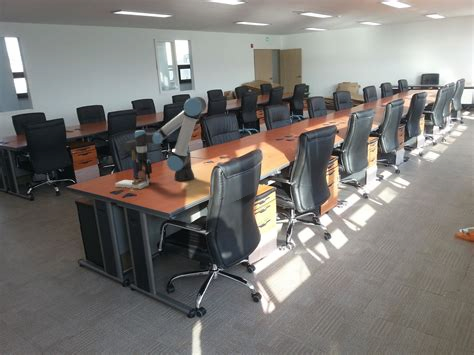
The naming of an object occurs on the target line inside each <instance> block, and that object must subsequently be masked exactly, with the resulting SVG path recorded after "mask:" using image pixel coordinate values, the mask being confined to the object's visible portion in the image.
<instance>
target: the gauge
mask: <svg viewBox="0 0 474 355" xmlns="http://www.w3.org/2000/svg"><path fill="white" fill-rule="evenodd" d="M146 174H147V173H146V170H145V168H142V170H140V171H139V174H138V176H139V177H138V178H136V179H135V178H133V182H132V184H133V185H135V184H138V183H140V182H142V181H145V182H147V179H146ZM149 179H150V180H151V177H150V178H149ZM149 184H151V181H150V182H149Z"/></svg>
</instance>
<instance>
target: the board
mask: <svg viewBox="0 0 474 355" xmlns="http://www.w3.org/2000/svg"><path fill="white" fill-rule="evenodd" d="M133 181H134V179H133V180H132V179H130V180H129V179H123V180H120V181H117V182H115V183H114V184H115V187H116V188H125V187H126V188H127V189H137V188H138V189H137V190H139V189H140V190H142V189H143V188H146V187H148V186H149V184H150V183H148V182H145V181H142V182H140V183H138V184H135V185H133V184H132V182H133ZM131 187H132V188H131Z"/></svg>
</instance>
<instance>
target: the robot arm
mask: <svg viewBox="0 0 474 355" xmlns="http://www.w3.org/2000/svg"><path fill="white" fill-rule="evenodd" d="M206 108H207V102H206V100H205V99H204V98H203V97H201V96H195V97H190V98H188V99H186V101H185V102H184V104H183V110H182V111H180V113H178V115H176V116H174V117H173V118H172V119H171V120H169V121H168V122H167V123H165V125H163V126H162V127H161V128H159V129H158V130H157V131H155V132H149V133H148V132H146V131H145V130H143V129H141V130H135V131H134V140H135V141H136V157H137V159H136V160H134V161H135V165H136V173H138V175H139V171H140V170H142V169H143V167H144V169H145V170H146V173H147V174H146V179H147V182H148V183H149V182H150V183H151V174H152V173H153V170H152V169H153V168H152V159H148V155H149V154H148V147H147V144H150V145H151V144H155V145H156V144H157V145H158V144H162V143H163V140H165V139H167V137H169V135H171V134H173V132H175V131H177V129H179V128H180V127H181V128H180V131H179V134H178V137H177V141H176V142H175V146H174V148H172V150H171V151H170V155H169V156H168V158H167V160H166V166H167V168H168V169H169V170H171V171H173V172H175V173H174V181H175V182H189V181H192V180H194V179H195V174H194V171H193V169H192V162H191V161H192V160H191V157H192V156H191V150H190V149H189V145H190V142H191V139H192V135H193V132H194V130H195V128H196V127H195V126H196V124H197V122H198V121H199V120H200V118H201V115H202V113H204V111H205V110H206ZM149 178H150V179H149ZM150 183H149V184H150Z"/></svg>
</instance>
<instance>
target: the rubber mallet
mask: <svg viewBox="0 0 474 355" xmlns="http://www.w3.org/2000/svg"><path fill="white" fill-rule="evenodd" d="M123 149H124V150H125V151H126V152H130V151H131V159H132V161H131V164H132V165H131V166H132V171H133V173H132V174H133V175H132V176H133V179H136V180H137V179H139V174H138V173H136V165H135V161H134V160H136V157H137V156H136V152H135V150H136V141H135V139H132V140H129V141H126V142H124V144H123ZM136 151H137V150H136Z"/></svg>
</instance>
